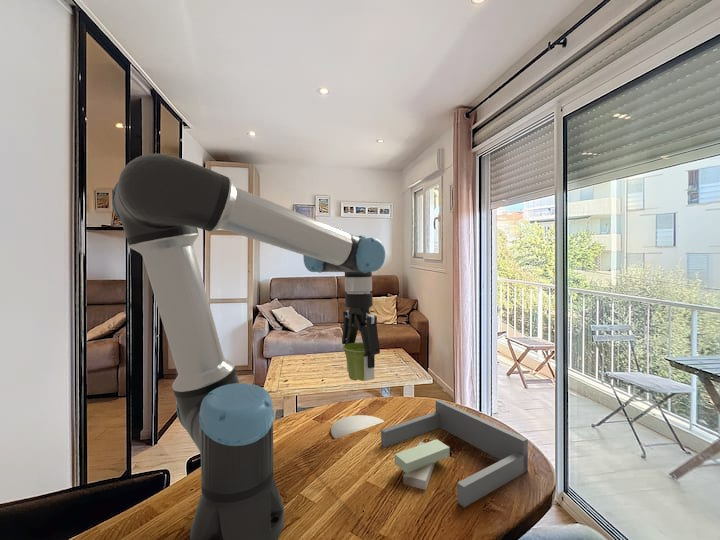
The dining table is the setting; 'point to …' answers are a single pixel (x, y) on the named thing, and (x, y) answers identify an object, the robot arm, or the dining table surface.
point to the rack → (478, 434)
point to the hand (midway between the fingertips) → (360, 374)
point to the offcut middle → (419, 476)
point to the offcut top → (421, 455)
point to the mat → (353, 424)
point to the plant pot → (355, 360)
